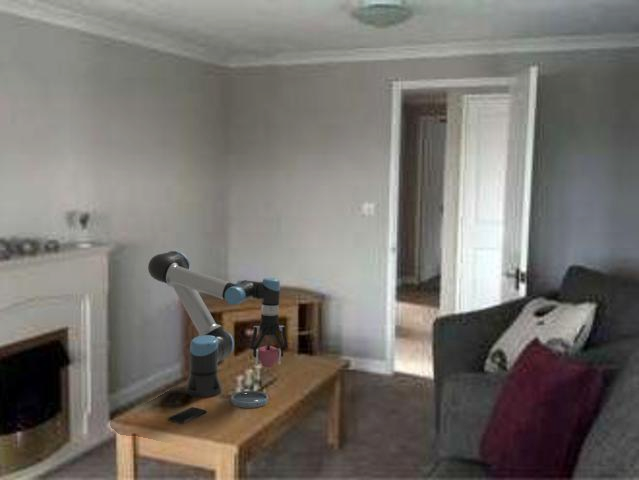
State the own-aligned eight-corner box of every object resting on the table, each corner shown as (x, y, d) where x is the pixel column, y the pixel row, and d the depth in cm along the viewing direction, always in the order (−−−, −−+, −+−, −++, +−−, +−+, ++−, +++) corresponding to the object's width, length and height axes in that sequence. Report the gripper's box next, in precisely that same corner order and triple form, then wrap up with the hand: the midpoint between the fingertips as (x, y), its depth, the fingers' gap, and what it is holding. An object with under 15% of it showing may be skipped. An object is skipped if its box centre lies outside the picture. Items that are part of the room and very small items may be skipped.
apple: (282, 367, 295) (283, 345, 294) (266, 371, 289) (267, 348, 288) (268, 362, 302) (269, 340, 301) (252, 365, 296) (253, 343, 295)
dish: (233, 408, 272) (234, 403, 271) (229, 396, 286) (229, 391, 286) (270, 406, 275) (270, 401, 275) (264, 394, 290) (265, 390, 289)
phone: (208, 410, 266) (182, 422, 253) (207, 413, 267) (182, 425, 253) (192, 406, 270) (166, 418, 257) (192, 409, 270) (166, 421, 257)
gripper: (245, 315, 287) (243, 367, 289) (296, 315, 292) (294, 366, 295) (243, 311, 294) (241, 362, 296) (293, 311, 299) (290, 361, 302)
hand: (267, 364), depth 296 cm, fingers closed on apple, 9 cm apart
